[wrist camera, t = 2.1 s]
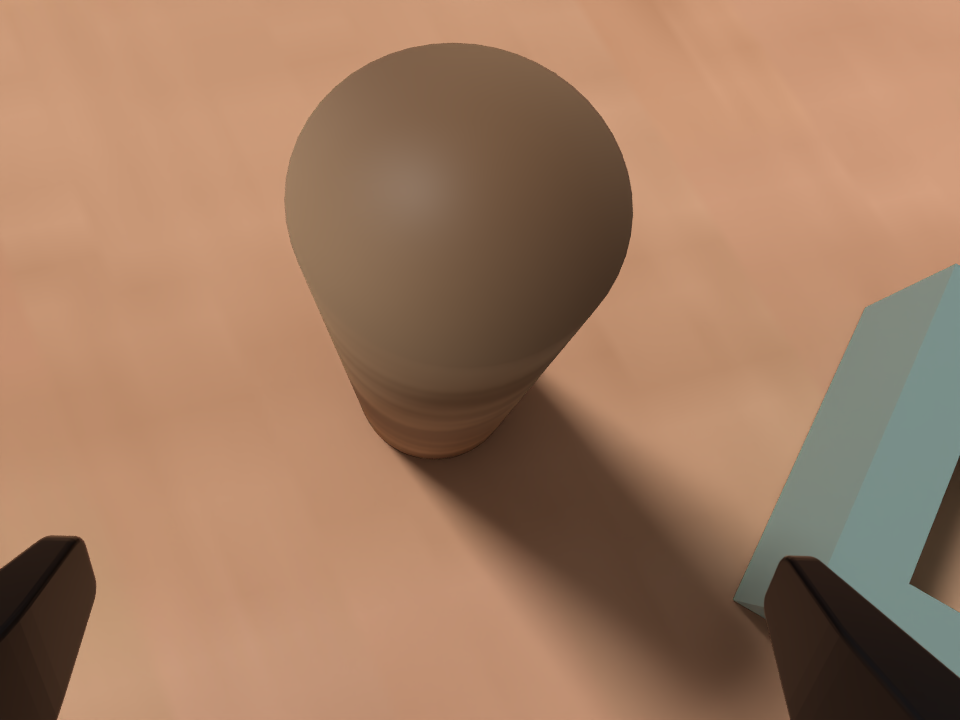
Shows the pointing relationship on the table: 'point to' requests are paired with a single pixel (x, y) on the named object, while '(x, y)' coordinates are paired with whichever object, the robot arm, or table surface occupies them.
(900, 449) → the socket block
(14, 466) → the table surface
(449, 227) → the peg
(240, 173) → the table surface
